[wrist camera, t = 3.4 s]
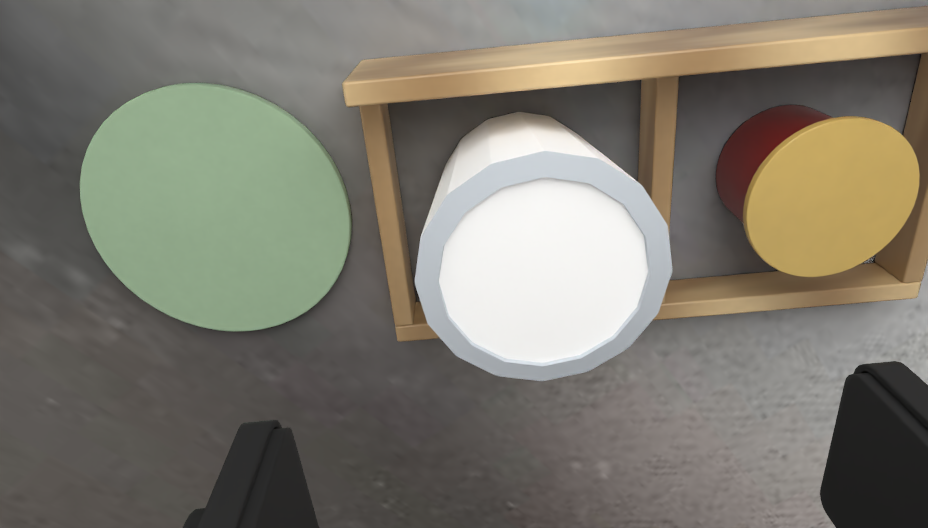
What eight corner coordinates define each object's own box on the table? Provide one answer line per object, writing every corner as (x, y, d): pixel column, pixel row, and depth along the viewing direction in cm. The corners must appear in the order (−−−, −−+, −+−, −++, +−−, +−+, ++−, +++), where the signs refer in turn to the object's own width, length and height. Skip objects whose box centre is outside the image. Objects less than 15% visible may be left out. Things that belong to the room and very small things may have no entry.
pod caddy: (953, 3, 20) (1060, 14, 17) (887, 276, 25) (961, 331, 21) (360, 59, 21) (341, 82, 17) (401, 317, 25) (392, 378, 22)
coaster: (325, 69, 21) (323, 71, 20) (370, 315, 25) (369, 321, 25) (42, 96, 21) (35, 99, 21) (135, 335, 25) (130, 341, 25)
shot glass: (638, 230, 24) (705, 330, 17) (472, 298, 25) (479, 415, 19) (573, 58, 21) (626, 104, 15) (391, 144, 22) (366, 221, 16)
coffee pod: (863, 85, 21) (938, 110, 18) (836, 225, 24) (899, 270, 20) (710, 99, 22) (757, 127, 18) (698, 237, 24) (738, 284, 21)
